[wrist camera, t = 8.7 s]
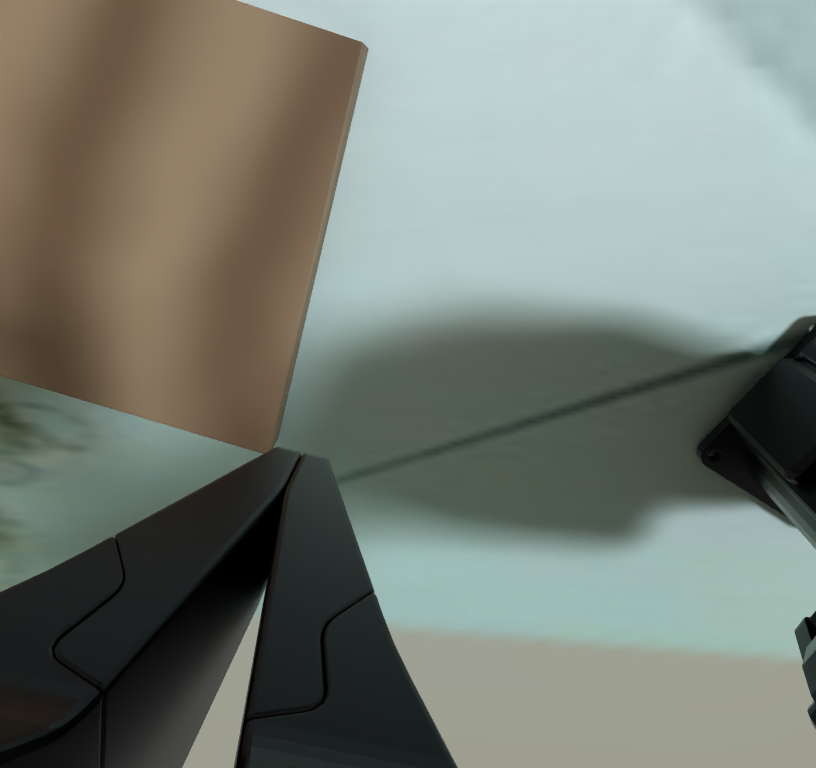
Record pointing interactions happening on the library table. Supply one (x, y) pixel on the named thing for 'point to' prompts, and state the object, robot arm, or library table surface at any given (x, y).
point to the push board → (166, 203)
